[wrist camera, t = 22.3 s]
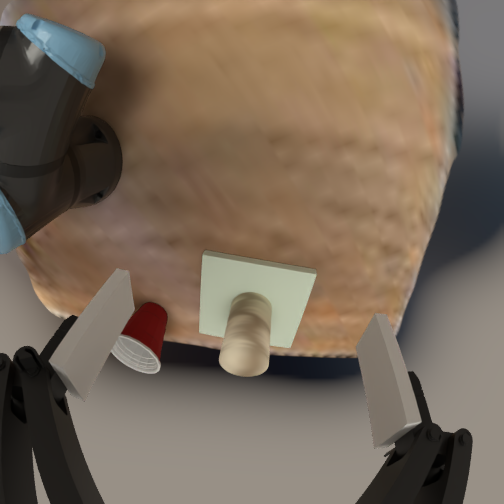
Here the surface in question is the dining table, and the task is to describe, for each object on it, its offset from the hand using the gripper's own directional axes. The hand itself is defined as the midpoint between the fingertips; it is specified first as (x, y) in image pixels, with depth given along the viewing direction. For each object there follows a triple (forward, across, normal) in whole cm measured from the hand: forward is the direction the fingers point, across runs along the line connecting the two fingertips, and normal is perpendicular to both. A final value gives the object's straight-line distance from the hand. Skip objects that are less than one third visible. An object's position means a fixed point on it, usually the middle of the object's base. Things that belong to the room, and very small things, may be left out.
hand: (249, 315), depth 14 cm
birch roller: (+25, +1, -22) cm, 33 cm away
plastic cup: (+27, -18, -30) cm, 44 cm away
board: (+27, +1, -22) cm, 35 cm away
